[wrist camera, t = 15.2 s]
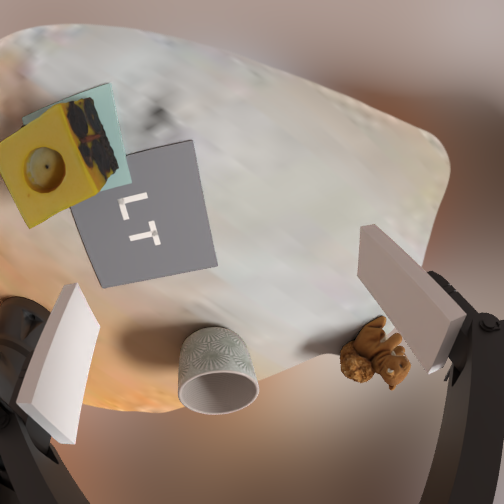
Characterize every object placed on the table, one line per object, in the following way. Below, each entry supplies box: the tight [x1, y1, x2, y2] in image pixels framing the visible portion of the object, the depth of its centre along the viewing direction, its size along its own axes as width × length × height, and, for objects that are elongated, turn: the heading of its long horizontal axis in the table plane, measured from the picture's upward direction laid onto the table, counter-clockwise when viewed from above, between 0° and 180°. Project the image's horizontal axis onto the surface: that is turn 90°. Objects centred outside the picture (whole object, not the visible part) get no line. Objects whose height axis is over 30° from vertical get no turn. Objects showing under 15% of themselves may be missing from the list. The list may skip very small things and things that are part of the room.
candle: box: [0, 97, 119, 229], centre depth 28 cm, size 10×10×10 cm
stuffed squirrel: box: [340, 316, 411, 390], centre depth 54 cm, size 10×14×13 cm
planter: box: [178, 327, 259, 415], centre depth 48 cm, size 12×12×11 cm
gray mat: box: [71, 140, 218, 288], centre depth 39 cm, size 18×18×1 cm
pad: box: [22, 83, 132, 191], centre depth 32 cm, size 13×13×1 cm
